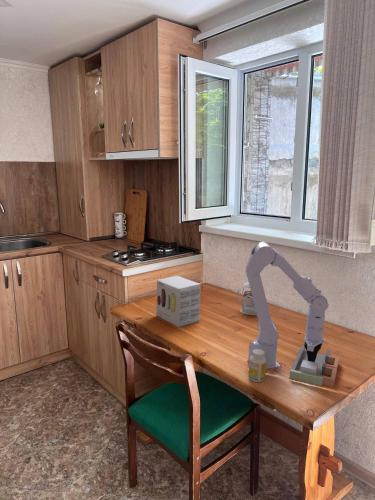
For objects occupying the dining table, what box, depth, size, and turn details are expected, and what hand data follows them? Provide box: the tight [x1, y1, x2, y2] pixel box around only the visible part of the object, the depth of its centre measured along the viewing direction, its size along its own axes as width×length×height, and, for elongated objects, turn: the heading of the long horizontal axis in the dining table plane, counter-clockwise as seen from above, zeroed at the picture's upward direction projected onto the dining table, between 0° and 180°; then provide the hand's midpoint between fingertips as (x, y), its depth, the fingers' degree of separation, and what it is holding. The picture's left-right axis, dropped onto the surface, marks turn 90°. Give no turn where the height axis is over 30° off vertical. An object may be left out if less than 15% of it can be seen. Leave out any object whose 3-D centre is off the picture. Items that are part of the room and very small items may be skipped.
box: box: [289, 344, 340, 388], centre depth 133 cm, size 23×14×3 cm, turn 153°
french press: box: [236, 282, 257, 316], centre depth 186 cm, size 10×12×25 cm
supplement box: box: [155, 275, 202, 328], centre depth 175 cm, size 17×13×18 cm
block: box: [300, 360, 318, 375], centre depth 127 cm, size 5×5×4 cm
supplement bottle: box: [248, 349, 267, 383], centre depth 125 cm, size 5×5×10 cm
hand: (311, 361), depth 134 cm, fingers closed
